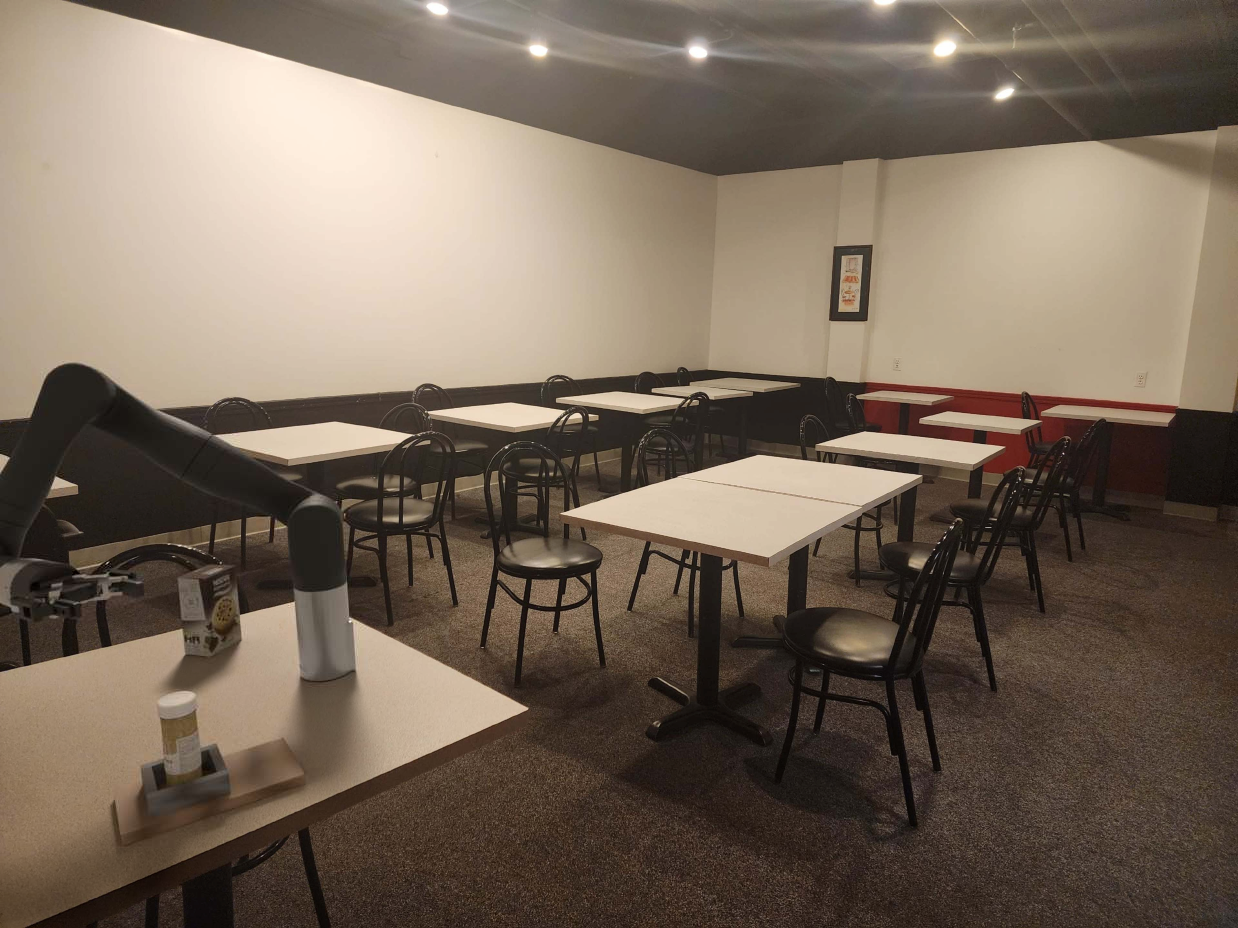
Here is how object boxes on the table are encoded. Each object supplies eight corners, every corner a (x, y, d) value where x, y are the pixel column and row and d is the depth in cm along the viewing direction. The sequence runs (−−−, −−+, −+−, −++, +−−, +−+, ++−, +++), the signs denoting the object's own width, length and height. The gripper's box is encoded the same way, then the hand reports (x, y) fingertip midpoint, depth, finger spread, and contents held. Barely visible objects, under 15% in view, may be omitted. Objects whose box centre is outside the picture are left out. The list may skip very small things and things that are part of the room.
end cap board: (284, 746, 117) (282, 719, 116) (305, 783, 107) (303, 754, 107) (114, 798, 104) (110, 769, 103) (121, 845, 94) (117, 813, 94)
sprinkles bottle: (161, 789, 103) (151, 698, 101) (197, 774, 107) (187, 686, 104) (174, 802, 100) (164, 709, 98) (210, 787, 104) (201, 696, 102)
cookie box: (212, 657, 148) (204, 579, 145) (183, 654, 150) (175, 576, 147) (243, 639, 157) (236, 564, 154) (216, 636, 158) (209, 562, 156)
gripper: (-24, 576, 102) (51, 591, 96) (84, 547, 115) (157, 559, 109) (-15, 628, 104) (60, 646, 98) (91, 594, 117) (163, 608, 110)
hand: (111, 600), depth 103 cm, fingers open, 8 cm apart
